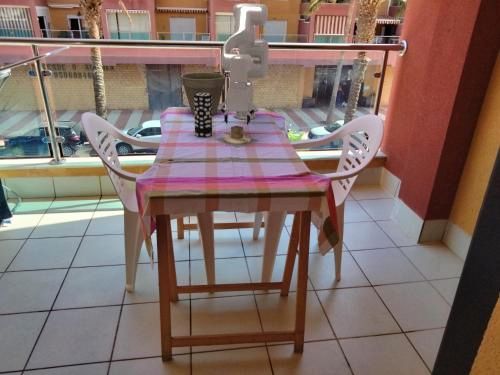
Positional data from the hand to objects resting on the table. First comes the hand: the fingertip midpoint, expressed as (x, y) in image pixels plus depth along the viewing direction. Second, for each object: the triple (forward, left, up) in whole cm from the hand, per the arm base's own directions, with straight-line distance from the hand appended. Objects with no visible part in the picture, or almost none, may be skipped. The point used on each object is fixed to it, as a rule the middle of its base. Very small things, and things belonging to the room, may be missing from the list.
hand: (237, 123), depth 170 cm
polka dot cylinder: (+7, -16, -9) cm, 20 cm away
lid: (0, 0, -8) cm, 8 cm away
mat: (0, 0, -9) cm, 9 cm away
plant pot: (-21, -50, -9) cm, 55 cm away
